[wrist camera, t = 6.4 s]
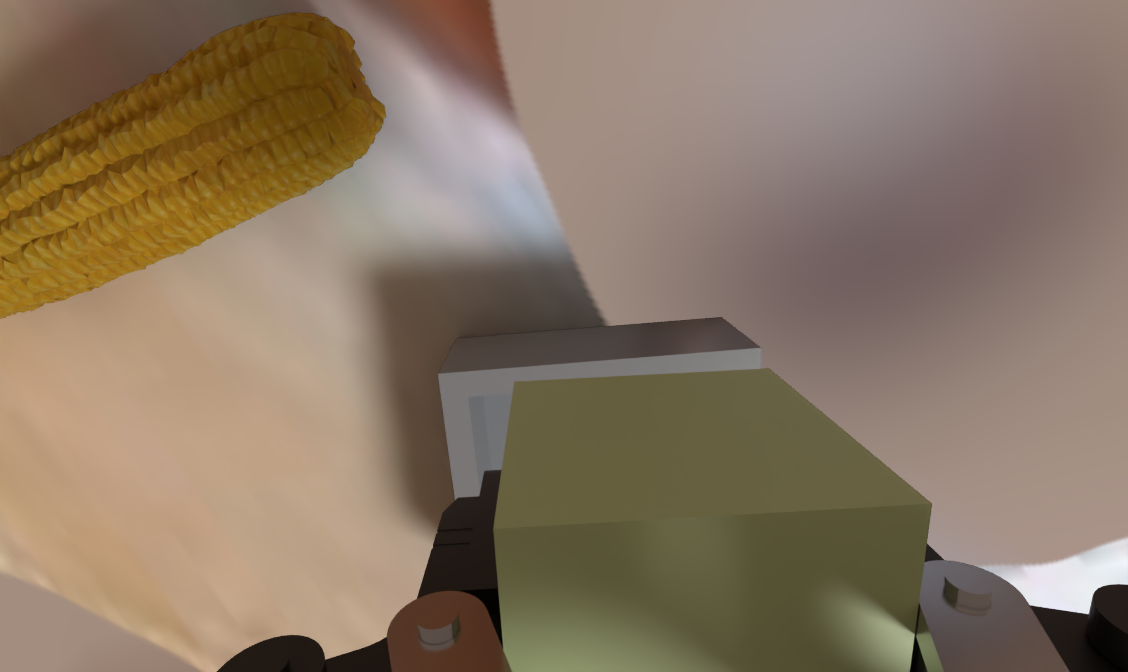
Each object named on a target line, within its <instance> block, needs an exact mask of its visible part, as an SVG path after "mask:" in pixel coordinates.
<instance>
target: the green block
mask: <svg viewBox="0 0 1128 672" xmlns="http://www.w3.org/2000/svg"><path fill="white" fill-rule="evenodd" d="M931 507H932V503H931V502H930V501H928V500H927V499H926V498H925V497H924V496H922V495H921V494H920V493H919V492H918V491H916V490H915V489H914V488H913V487H911V486H910V485H909V484H908V483H907V482H905V481H904V480H903V479H902V478H901V477H899V476H898V475H897V474H896V473H894V472H893V471H892V470H891V469H890V468H889V467H887V466H886V465H885V464H884V463H883V462H881V461H880V460H879V459H878V458H877V457H875V456H874V455H873V454H872V453H870V452H869V451H868V450H867V449H866V448H864V447H863V446H862V445H861V444H860V443H858V442H857V441H856V440H855V439H853V438H852V437H851V436H850V435H849V434H848V433H846V432H845V431H844V430H843V429H841V428H840V427H839V426H838V425H837V424H835V423H834V422H833V421H832V420H831V419H830V418H828V417H827V416H826V415H825V414H823V413H822V412H821V411H820V410H819V409H817V408H816V407H815V406H814V405H813V404H812V403H810V402H809V401H808V400H806V399H805V398H804V397H803V396H802V395H801V394H799V393H798V392H797V391H796V390H795V389H793V388H792V387H791V386H790V385H789V384H787V383H786V382H785V381H784V380H782V379H781V378H780V377H779V376H778V375H777V374H775V373H774V372H773V371H772V370H771V369H769V368H766V369H746V370H727V371H707V372H688V373H669V374H650V375H631V376H611V377H592V378H573V379H554V380H534V381H515V382H514V387H513V394H512V401H511V408H510V415H509V422H508V429H507V436H506V443H505V450H504V457H503V464H502V471H501V478H500V485H499V492H498V499H497V506H496V513H495V520H494V527H493V532H494V544H495V556H496V568H497V580H498V592H499V604H500V616H501V628H502V640H503V651H504V653H505V656H506V658H507V661H508V663H509V665H510V668H511V670H512V672H910V666H911V659H912V651H913V644H914V636H915V629H916V621H917V614H918V606H919V598H920V591H921V583H922V576H923V568H924V561H925V553H926V546H927V538H928V530H929V523H930V515H931Z"/></svg>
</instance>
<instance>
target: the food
mask: <svg viewBox="0 0 1128 672" xmlns="http://www.w3.org/2000/svg"><path fill="white" fill-rule="evenodd" d="M354 44H355V41H354V40H353V38H352V37H351V36H350V34H349V33H348V32H347V31H346V30H344V29H342V28H340V27H338V26H336V25H334V24H333V23H332V22H331V21H330V20H329V19H328V18H327V17H321V16H318V15H316V14H314V13H288V14H281V15H276V16H270V17H266V18H262V19H258V20H254V21H251V22H249V23H247V24H245V25H239V26H236V27H233V28H231V29H228V30H225V31H223V32H221V33H219V34H217V35H215V36H213V37H212V38H210V39H209V40H208V41H206V42H205V43H204V44H202V45H201V46H200V47H198V48H197V49H195V50H194V51H192V50H189V52H188V53H187V54H186V55H185V56H184V57H183V59H181V60H179V61H178V62H177V63H176V64H175V65H173V66H172V67H171V68H170V69H169V70H167V71H165V72H163V73H161V74H149V76H148V77H147V79H146V80H145V81H144V82H142V83H140V84H137V85H135V86H133V87H131V88H129V89H128V90H125V89H124V90H122V91H120V92H117V93H115V94H113V95H112V97H110V98H108V99H106V100H104V101H102V102H100V103H93V104H92V105H91V106H90V107H89V108H88V109H86V110H84V111H82V112H80V113H77V114H75V115H73V116H71V117H69V118H68V119H66V120H64V121H62V122H60V123H59V124H58V125H57V126H55V127H52V128H50V129H48V131H47V132H46V133H44V134H39V135H38V136H37V137H35V138H34V139H33V140H31V141H30V142H28V143H26V144H24V145H22V146H20V147H18V148H16V149H14V153H13V154H11V155H8V156H3V157H0V318H6V317H7V316H10V315H12V314H16V313H17V312H26V311H27V310H30V311H33V310H35V309H37V308H39V307H41V306H43V305H44V304H45V303H53V302H57V301H61V300H66V299H67V298H69V297H71V296H74V295H76V294H78V293H83V292H87V291H91V290H92V289H93V288H98V287H100V286H101V285H103V284H105V283H107V282H109V281H111V280H114V279H116V278H118V277H119V276H122V275H124V274H127V273H130V272H134V271H137V270H142V269H146V266H147V265H151V264H154V263H155V262H157V261H159V260H161V259H163V258H166V257H169V256H173V255H175V254H182V253H183V252H185V251H186V250H188V249H190V248H192V247H194V246H199V245H200V244H201V243H202V242H204V241H205V240H206V239H210V238H211V237H213V236H215V235H216V234H219V233H221V232H223V231H224V230H229V229H230V228H234V227H235V226H236V225H238V224H240V223H242V222H244V221H246V220H249V219H251V218H252V217H255V216H256V215H257V214H262V213H263V212H265V211H266V210H268V209H270V208H273V207H275V206H276V205H278V204H280V203H282V202H284V201H286V200H288V199H290V198H293V197H296V196H299V195H303V194H305V193H306V191H307V190H309V191H310V190H311V189H312V188H314V187H315V186H319V185H321V184H323V182H324V181H325V180H328V179H332V178H333V177H334V176H335V175H336V174H338V173H340V172H342V171H343V170H345V169H347V168H350V167H352V166H353V164H354V161H356V160H357V159H360V158H362V156H363V155H365V154H366V153H367V151H368V149H369V147H370V145H371V144H372V143H373V142H374V140H375V135H376V133H378V132H379V131H380V130H381V128H382V125H383V119H384V118H386V113H385V107H384V105H383V104H382V103H381V102H380V101H378V100H377V99H376V98H375V97H373V96H372V93H371V91H370V89H369V87H368V86H367V85H366V84H365V76H364V75H363V74H362V73H361V71H360V68H361V66H362V63H361V61H360V59H359V57H358V55H357V53H356V51H355V50H354V49H353V47H354Z"/></svg>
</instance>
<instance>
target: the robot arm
mask: <svg viewBox="0 0 1128 672" xmlns="http://www.w3.org/2000/svg"><path fill="white" fill-rule="evenodd" d="M501 471H502V470H487V471H484V475H483V480H482V485H481V490H480V495H479V496H475V497H458V498H457V499H456V500H455V501H454V502H453V503H452V504H451V505H450V506H449V507H448V508H447V509H446V510H445V511H444V512H443V513H442V517H441V520H440V523H439V527H438V530H437V531H438V533H437V534H436V537H435V540H434V543H433V549H432V550H431V553H430V557H429V560H428V564H427V567H426V570H425V574H424V577H423V580H422V584H421V587H420V590H419V594H418V597H417V599H416V600H414V601H412V602H411V603H409V604H408V605H406V606H405V607H404V608H403V609H401V610H400V611H399V612H398V613H397V614H396V616H395V617H394V618H393V620H392V621H391V623H390V626H389V628H388V632H387V637H386V638H384V639H382V640H381V641H379V642H376V643H374V644H372V645H370V646H367V647H364V648H362V649H359V650H355V651H352V652H349V653H346V654H342V655H339V656H336V657H333V658H330V659H326V660H325V656H324V652H323V649H322V647H321V646H320V645H319V643H317V642H316V641H315V640H313V639H311V638H308V637H305V636H300V635H287V636H280V637H275V638H271V639H268V640H264V641H262V642H259V643H257V644H255V645H253V646H251V647H249V648H247V649H245V650H243V651H242V652H240V653H238V654H237V655H235V656H234V657H233V658H231V659H230V660H229V661H228V662H226V663H225V664H224V665H223V666H222V667H221V668H220V669H219V670H218V671H217V672H512V670H511V668H510V665H509V663H508V661H507V658H506V656H505V653H504V651H503V640H502V628H501V616H500V604H499V592H498V580H497V568H496V556H495V544H494V532H493V527H494V520H495V513H496V506H497V499H498V492H499V485H500V478H501ZM910 672H1128V585H1121V584H1117V585H1107V586H1103V587H1101V588H1098V589H1097V590H1096V591H1095V592H1094V595H1093V598H1092V602H1091V607H1090V611H1089V614H1083V613H1076V612H1069V611H1063V610H1056V609H1049V608H1043V607H1036V606H1031V605H1029V604H1028V602H1027V601H1026V599H1025V598H1024V596H1023V595H1022V594H1021V593H1020V592H1019V591H1018V590H1017V589H1016V588H1015V587H1014V586H1013V585H1011V584H1010V583H1009V582H1007V581H1006V580H1004V579H1002V578H1001V577H999V576H997V575H995V574H993V573H991V572H989V571H986V570H984V569H982V568H979V567H976V566H973V565H969V564H965V563H960V562H956V561H946V560H944V559H942V557H941V556H939V555H938V554H937V553H936V552H935V551H934V550H933V549H932V548H931V547H930V546H929V545H928V544H927V546H926V553H925V561H924V568H923V576H922V583H921V591H920V598H919V606H918V614H917V621H916V629H915V636H914V644H913V651H912V659H911V666H910Z"/></svg>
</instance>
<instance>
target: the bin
mask: <svg viewBox="0 0 1128 672" xmlns="http://www.w3.org/2000/svg"><path fill="white" fill-rule="evenodd" d="M746 369H761V347H760V346H758V345H757V344H756V343H755V342H753V341H752V340H751V339H749V338H748V337H747V336H746V335H744V334H743V333H741V332H740V331H739V330H737V329H736V328H735V327H733V325H731V324H730V323H729V322H727V321H726V320H725V319H723V318H722V317H717V318H705V319H692V320H681V321H667V322H655V323H642V324H630V325H618V326H605V327H592V328H580V329H567V330H554V331H542V332H529V333H517V334H504V335H492V336H479V337H467V338H457V339H456V341H455V343H454V345H453V346H452V348H451V350H450V352H449V354H448V356H447V358H446V359H445V361H444V363H443V365H442V367H441V369H440V371H439V372H438V379H439V387H440V394H441V401H442V409H443V416H444V423H445V431H446V438H447V445H448V453H449V460H450V467H451V475H452V482H453V489H454V497H455V500H456V499H457V498H458V497H475V496H479V495H480V490H481V485H482V480H483V475H484V471H487V470H502V464H503V457H504V450H505V443H506V436H507V429H508V422H509V415H510V408H511V401H512V394H513V387H514V382H515V381H534V380H554V379H573V378H592V377H611V376H631V375H650V374H669V373H688V372H707V371H727V370H746Z"/></svg>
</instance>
